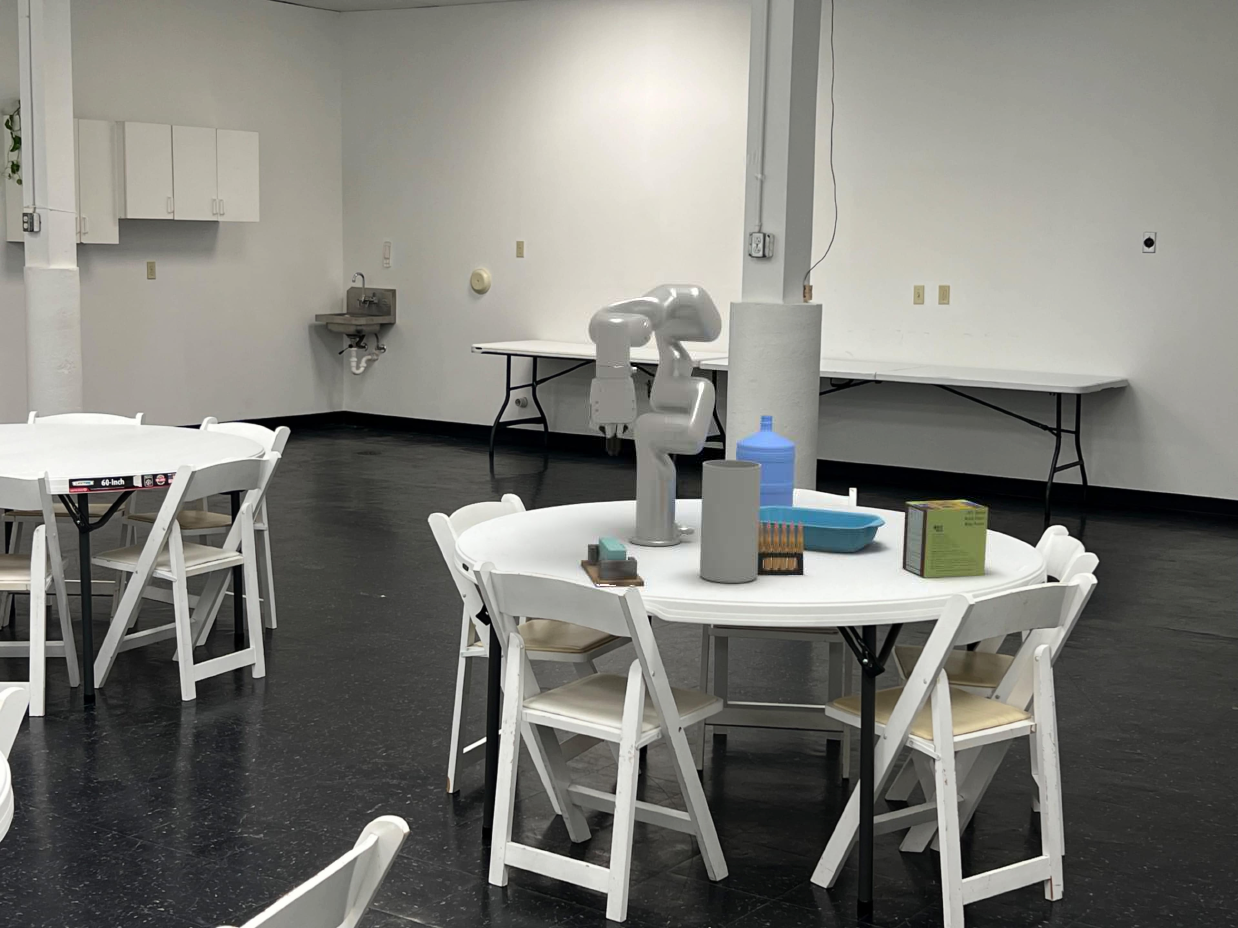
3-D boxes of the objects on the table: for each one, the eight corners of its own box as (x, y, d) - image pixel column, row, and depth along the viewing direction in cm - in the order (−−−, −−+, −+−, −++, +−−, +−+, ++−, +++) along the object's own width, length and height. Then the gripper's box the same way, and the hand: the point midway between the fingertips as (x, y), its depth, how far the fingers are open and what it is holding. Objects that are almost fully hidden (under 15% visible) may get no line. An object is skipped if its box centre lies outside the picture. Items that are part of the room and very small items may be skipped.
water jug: (804, 522, 372) (808, 417, 368) (759, 527, 363) (763, 420, 359) (766, 513, 385) (770, 411, 380) (722, 518, 376) (725, 414, 372)
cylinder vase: (724, 568, 313) (728, 458, 310) (768, 578, 305) (772, 464, 301) (687, 576, 304) (691, 463, 301) (732, 586, 296) (736, 470, 292)
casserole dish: (722, 543, 343) (723, 514, 342) (755, 528, 363) (756, 501, 362) (868, 559, 327) (869, 529, 326) (894, 543, 347) (896, 515, 346)
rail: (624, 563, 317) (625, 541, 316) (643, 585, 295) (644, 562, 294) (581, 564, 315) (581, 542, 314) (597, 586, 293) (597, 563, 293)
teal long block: (614, 563, 312) (614, 537, 311) (625, 577, 298) (626, 550, 297) (598, 564, 311) (598, 537, 310) (609, 578, 297) (609, 550, 296)
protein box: (985, 575, 312) (989, 507, 310) (923, 578, 308) (927, 509, 305) (961, 565, 322) (964, 499, 320) (900, 568, 317) (904, 501, 315)
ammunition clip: (755, 575, 308) (757, 521, 306) (754, 573, 309) (755, 520, 308) (803, 575, 308) (805, 522, 306) (801, 573, 310) (804, 520, 308)
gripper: (642, 370, 314) (642, 450, 318) (576, 371, 312) (577, 452, 315) (649, 374, 307) (649, 456, 311) (582, 376, 304) (583, 458, 308)
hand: (613, 454), depth 313 cm, fingers closed
